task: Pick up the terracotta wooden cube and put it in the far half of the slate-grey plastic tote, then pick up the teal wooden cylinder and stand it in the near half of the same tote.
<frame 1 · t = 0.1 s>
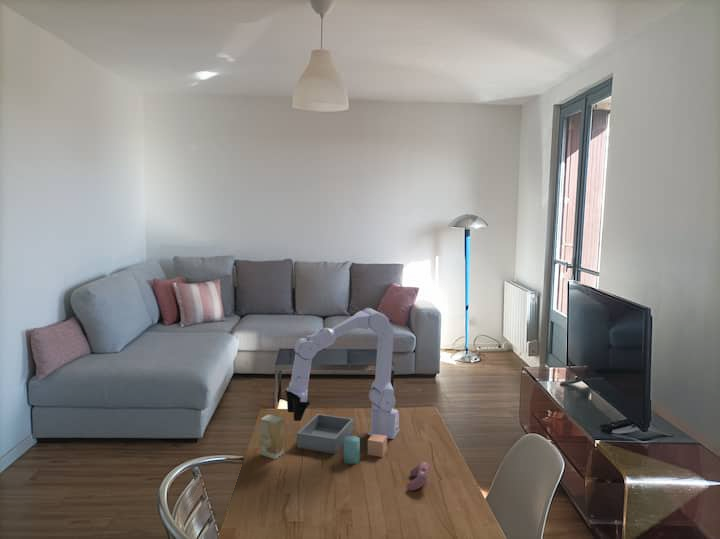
hand: (294, 416, 180), 11 cm above the table, tool pointing down, fingers open, 7 cm apart
teal cylinder: (351, 460, 173), on the table
terracotta cube: (377, 452, 179), on the table
skincare box: (272, 455, 176), on the table
pink curved lump: (418, 484, 159), on the table
tote: (326, 439, 187), on the table
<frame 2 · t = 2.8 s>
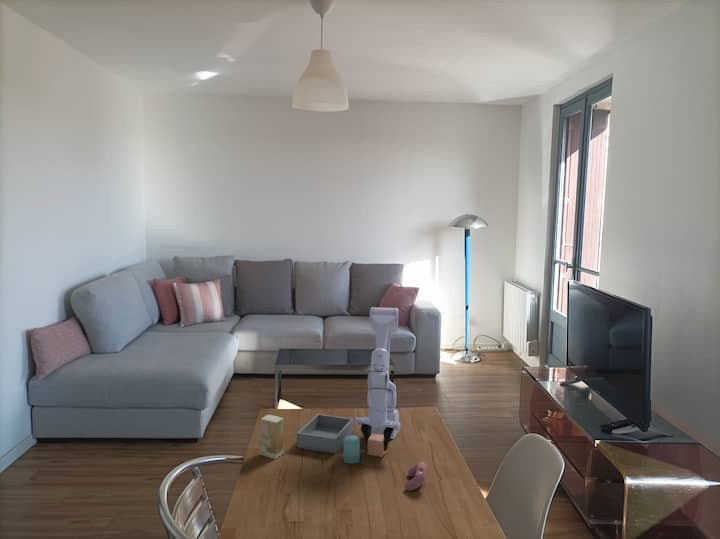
hand: (377, 448, 178), 1 cm above the table, tool pointing down, fingers closed on terracotta cube, 5 cm apart
terracotta cube: (377, 452, 179), on the table, touching gripper
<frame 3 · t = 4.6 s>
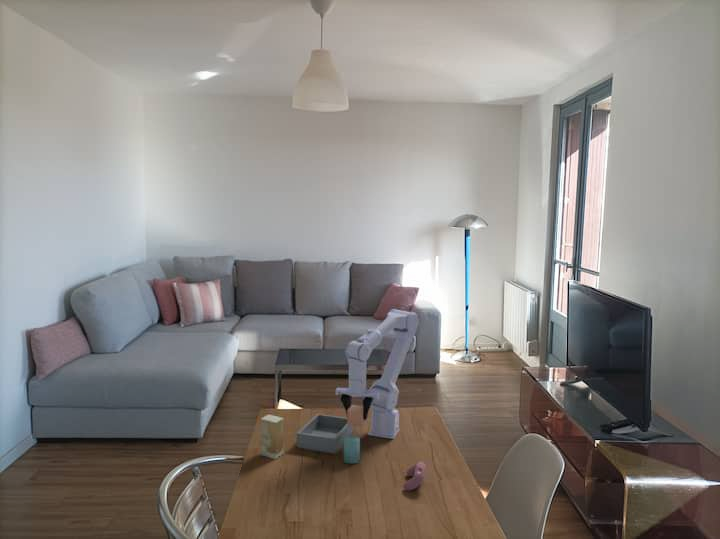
hand: (357, 417, 183), 9 cm above the table, tool pointing down, fingers closed on terracotta cube, 5 cm apart
terracotta cube: (356, 422, 183), point 8 cm above the table, touching gripper
when the fingers open (5 cm above the table, at t = 6.7 s): terracotta cube drops 2 cm, resting on tote.
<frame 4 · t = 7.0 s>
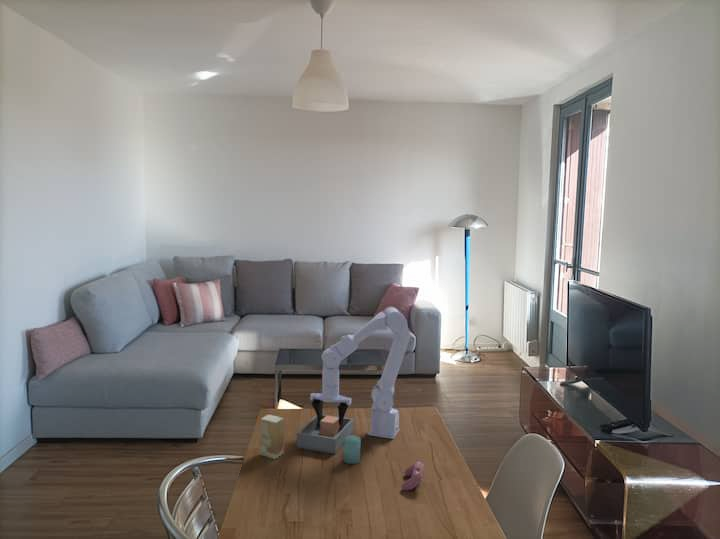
hand: (330, 422, 191), 5 cm above the table, tool pointing down, fingers open, 7 cm apart
terracotta cube: (329, 433, 191), point 1 cm above the table, touching tote
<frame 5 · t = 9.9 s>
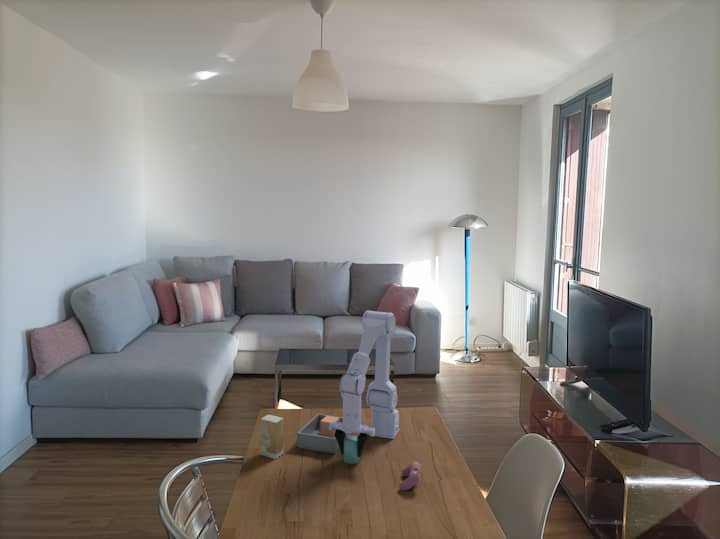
hand: (351, 454, 173), 2 cm above the table, tool pointing down, fingers closed on teal cylinder, 5 cm apart
teal cylinder: (351, 460, 173), on the table, touching gripper
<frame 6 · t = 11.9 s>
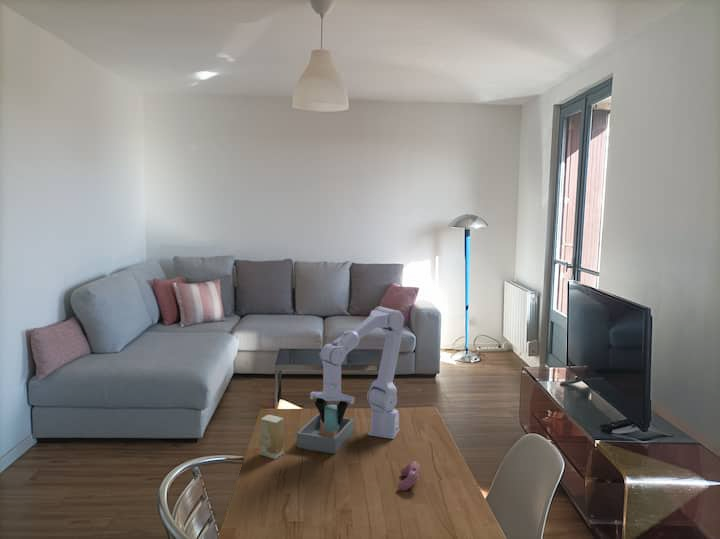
hand: (332, 422, 179), 9 cm above the table, tool pointing down, fingers closed on teal cylinder, 5 cm apart
teal cylinder: (331, 428, 179), point 7 cm above the table, touching gripper
when the fingers open (5 cm above the table, at t = 13.8 s): teal cylinder drops 2 cm, resting on tote.
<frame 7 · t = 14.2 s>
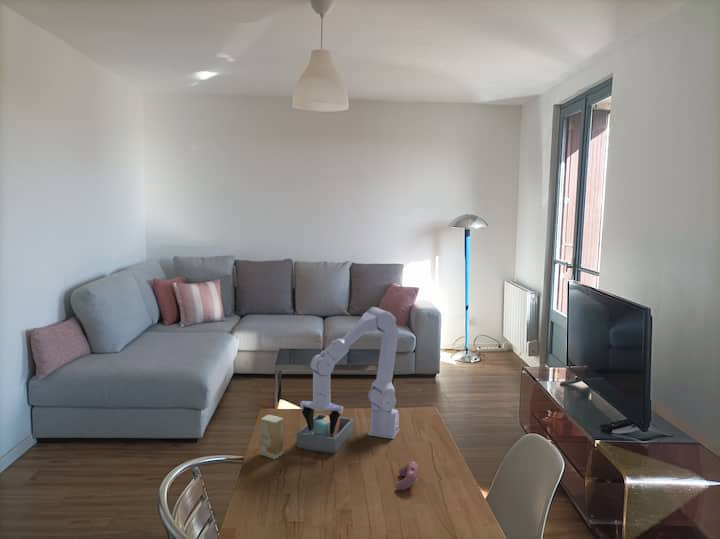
hand: (321, 431, 183), 5 cm above the table, tool pointing down, fingers open, 7 cm apart
teal cylinder: (321, 442, 183), point 1 cm above the table, touching tote
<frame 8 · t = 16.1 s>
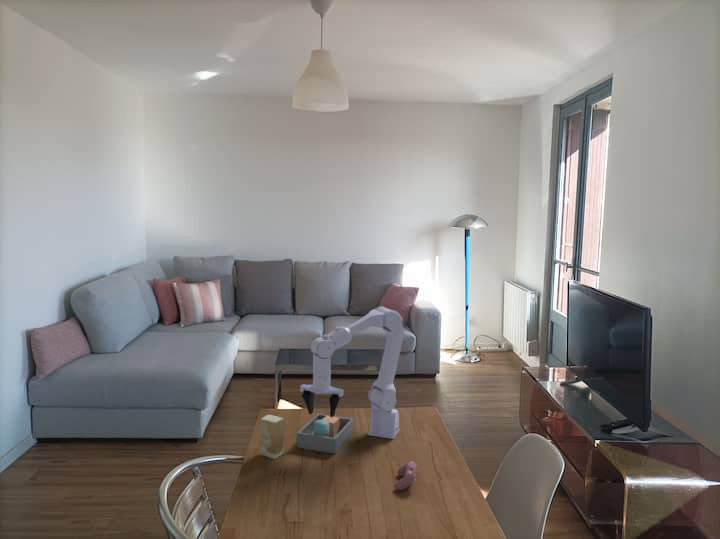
hand: (321, 414, 182), 10 cm above the table, tool pointing down, fingers open, 7 cm apart
at the end: terracotta cube inside the target area on the tote (3.7 cm from its centre), point 0.8 cm above the tote's base; teal cylinder inside the target area on the tote (4.1 cm from its centre), point 0.8 cm above the tote's base; teal cylinder tilted 0° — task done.
